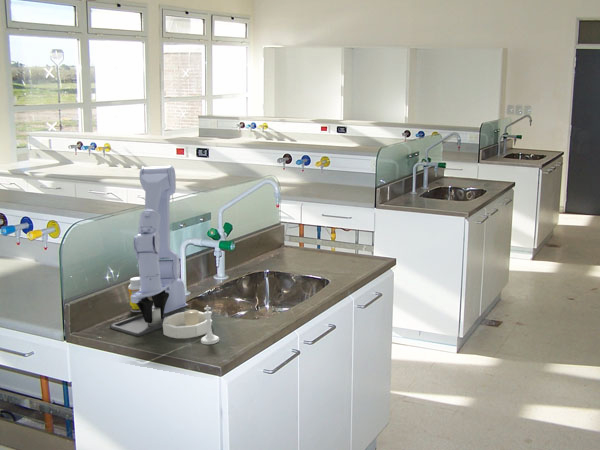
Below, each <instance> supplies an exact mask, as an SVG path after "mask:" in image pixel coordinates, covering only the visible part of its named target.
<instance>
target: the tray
mask: <svg viewBox="0 0 600 450" xmlns="http://www.w3.org/2000/svg"><path fill="white" fill-rule="evenodd" d="M166 317H168V316H166V315H163V318H161V321H162V324H159V325H157V326H154V327H150V326H148V324H147V323H146V322H145V320H144V317H143V315H142V313H139V314H137V315H134V316H132V317H129V318H126V319H123V320H121V321H117V322H113V323H111V324H109V328H110V329H112V330H115V331H118V332H122V333H125V334H128V335H132V336H135V337H141V336H144V335H147V334H149V333H151V332H154V331H156V330H158V329H159V330H160V329H163V321H164V318H166Z"/></svg>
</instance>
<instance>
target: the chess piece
mask: <svg viewBox="0 0 600 450" xmlns="http://www.w3.org/2000/svg"><path fill="white" fill-rule="evenodd" d="M204 310H205V311H204V312H203V313H204V315H205V317H206V320H205V323H207V333H206V334H204V335H205V336H203V337H201V339H200V343H201V344H202V345H213V344H217V343H219V342H220V337H219V336H217V335H215V334H213V329H212V322H213V319H212V311H210V310H212V307H210V306H209V305H208V304H207V305H206V307H204ZM210 318H211V319H210Z"/></svg>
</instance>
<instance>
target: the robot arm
mask: <svg viewBox="0 0 600 450" xmlns="http://www.w3.org/2000/svg"><path fill="white" fill-rule="evenodd" d="M176 180H177V179H176V171H175V167H174V166H173V165H172V164H171V165H165V166H164V165H162V166H160V165H159V166H142V167H141V168H140V170H139V182H140V185H141V186H142V190H144V192H145V196H144V210H143V211H142V212H141V213H140V214H139V222H138V230H137V235H134V237H133V250H134V254H135V259H136V261H137V264H138V273H139V277H140V284H141V288H139V291H138V292H137V293H135V294H134V295H132V296H130V297H131V303H136V304H137V306H138V307H139V309H140V310H141V314H142V315H143V317H144V320H145V322H146V323H152V307H159V308H160V311H161V318H163V316H164V314H167V313H171V312H173V311H176V310H179V309H181V308H182V309H183V308H184V307H186V306H188V303H187V301H186V300H187V299H186V291H185V289H186V287H185V284H184V281H183V280H182V278H180V276H181V263H180V256H179V255H178V254H177V252H175V251H173V250H172V249H171V239H170V238H171V233H170V232H171V231H170V229H171V228H170V227H171V226H170V224H171V223H170V222H171V221H170V220H171V219H170V214H171V213H170V201H171V196H172V195H174V194H175V193H176V189H177V187H176V186H177V183H176ZM150 297H151V299H150Z"/></svg>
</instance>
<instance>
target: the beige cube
mask: <svg viewBox="0 0 600 450" xmlns="http://www.w3.org/2000/svg"><path fill="white" fill-rule="evenodd" d="M198 311H199V310H197V309H188V310H185V311H183V312H184V319H185V326H191V325H196V324H199V313H198Z"/></svg>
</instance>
